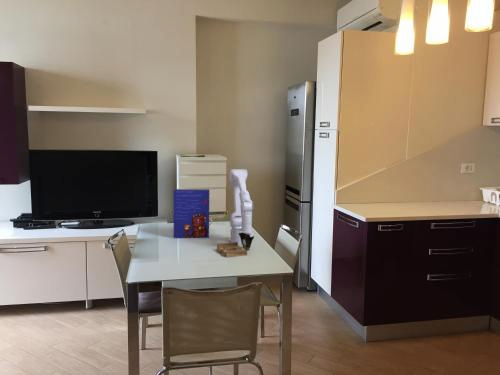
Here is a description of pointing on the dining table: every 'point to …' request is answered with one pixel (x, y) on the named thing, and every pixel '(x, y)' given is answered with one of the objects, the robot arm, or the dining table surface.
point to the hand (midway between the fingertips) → (246, 246)
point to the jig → (231, 249)
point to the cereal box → (191, 213)
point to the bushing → (245, 245)
